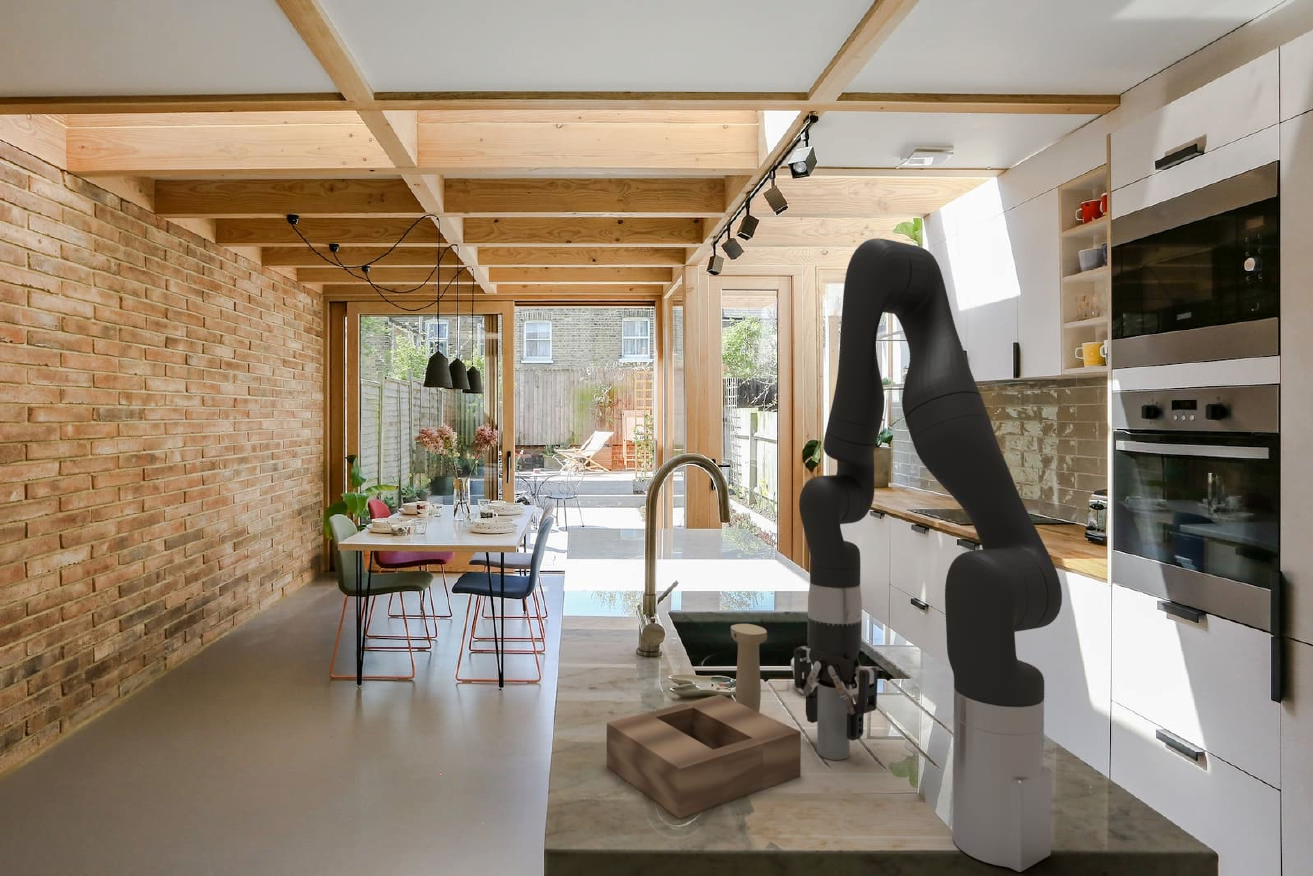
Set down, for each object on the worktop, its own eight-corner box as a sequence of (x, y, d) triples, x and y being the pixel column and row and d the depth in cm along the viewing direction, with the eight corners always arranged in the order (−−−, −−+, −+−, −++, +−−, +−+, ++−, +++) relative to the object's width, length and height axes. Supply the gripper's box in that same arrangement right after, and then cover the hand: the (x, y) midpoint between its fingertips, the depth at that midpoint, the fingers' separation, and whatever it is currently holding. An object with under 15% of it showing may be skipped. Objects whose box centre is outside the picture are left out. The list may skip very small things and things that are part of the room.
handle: (745, 734, 117) (746, 636, 117) (724, 719, 123) (724, 625, 123) (772, 729, 119) (773, 632, 119) (749, 714, 125) (750, 622, 125)
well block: (800, 776, 103) (800, 731, 103) (679, 818, 92) (679, 768, 92) (720, 733, 117) (720, 694, 117) (606, 766, 106) (606, 722, 106)
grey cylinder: (826, 744, 114) (826, 674, 113) (855, 752, 111) (855, 681, 111) (811, 754, 110) (812, 682, 110) (840, 763, 107) (841, 689, 107)
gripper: (892, 622, 106) (891, 741, 107) (816, 601, 118) (815, 709, 119) (855, 630, 102) (854, 754, 102) (780, 608, 114) (779, 719, 114)
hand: (833, 729), depth 110 cm, fingers open, 7 cm apart
